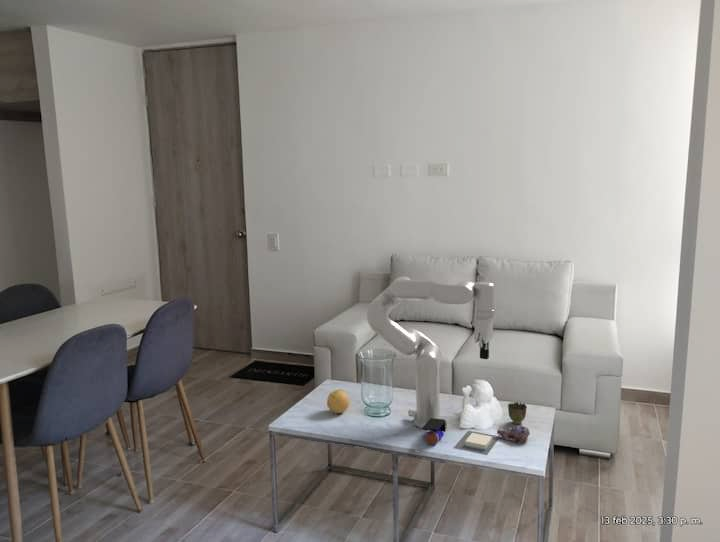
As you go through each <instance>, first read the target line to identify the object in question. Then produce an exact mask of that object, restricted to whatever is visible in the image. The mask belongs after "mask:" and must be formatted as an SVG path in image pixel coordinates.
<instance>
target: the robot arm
mask: <svg viewBox="0 0 720 542" xmlns="http://www.w3.org/2000/svg"><path fill="white" fill-rule="evenodd" d="M473 299H474V318H475V321H474V334H473V337H474V338H473V342H474V343H478V347H479V358H480V359H481V360H488V359H489V358H490V341H491V340H492V339H493V338H494V324H493V323H494V322H493V319H494V318H495V284H494V283H492V282H489V281H479V282H478V281H472V280H461V281H460V282H458V283H457V284H453V285H452V284H442V283H437V282H435V281H434V280H431V279H411V278H410V277H409V276H405V275H404V276H399V277H397V278H395V279H394V280H393V281H392V282H391V284H390V285H388V286H387V288H385V289H384V290H383V291H382V292H380V293H379V294H378V295H377V296H376V297H375V298H374V299H373V300H372V301H371V302H370V303H369V306H368V308H367V311H366V321H367V324H368V325H369V327H370V329H371V330H372V331H373V332H374V333H375V334H377V335H378V336H379V337H381V338H382V339H383V340H384V341H385V342H386V343H387V344H389V345H390V346H391V347H392V348H393V349H395V350H396V351H398V353H400V354H401V355H403V356H406V357H410V356H412V355H413V356H415V360H414V370H415V371H414V372H415V387H416V388H415V393H416V397H415V399H416V403H415V405H416V407H415V408H416V409H415V410H414V409H408V412H407V413H408V417H413V420H412V423H413V425H414V426H415V427H417V428H420V429H422V428H423V427H424V425H425V424H426V423H427V422H428V421H429V419H430V418H434V419H443V418H442V417H440V415H441V410H440V371H439V370H440V369H439V368H440V363H441V359H442V351H441V349H440V348H439V346H438V345H437V344H436V343H435V342H433V341H432V340H431V339H430V338H428V337H427V336H425V335H424V334H423V333H422V332H421V331H419V330H417V329H416V328H413V327H406V328H403V327H402V326H401V325H400V324H399V323H397V322H395V321H394V320H392V319H390V317H389V314H390V313H391V312H392V311H393V310H394V309H395V308H396V307H397V306H398V305H400V303H402V302H403V301H412V302H413V301H414V302H416V301H418V302H421V301H422V302H432V303H437V304H443V305H466V304H469V303H470V302H471V301H472V300H473Z"/></svg>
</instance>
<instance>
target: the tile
mask: <svg viewBox="0 0 720 542" xmlns="http://www.w3.org/2000/svg"><path fill="white" fill-rule="evenodd" d="M491 443H492V437H491V436H486V435H481V434H475V433H472V434H471V435H470V436H469V437H468V438H467V440H466V441H465V446H467V447H472V448H477V449H482V450H486V449H487V448H488V447H489V445H490V444H491Z"/></svg>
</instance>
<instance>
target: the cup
mask: <svg viewBox="0 0 720 542" xmlns="http://www.w3.org/2000/svg"><path fill="white" fill-rule="evenodd" d="M507 409H508V416H509V418H510V420H511V421H512V424H514V425H515V426H521V424H522V423H523V422H522V421H524V420H525V418H526V416H527V414H526V413H527V405H526V404H525V403H522V402H519V401H517V402H511V403H508V404H507Z"/></svg>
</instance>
